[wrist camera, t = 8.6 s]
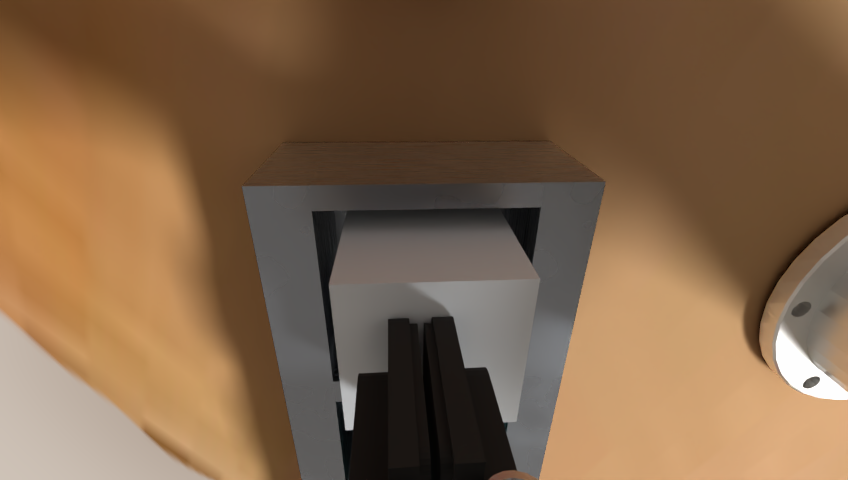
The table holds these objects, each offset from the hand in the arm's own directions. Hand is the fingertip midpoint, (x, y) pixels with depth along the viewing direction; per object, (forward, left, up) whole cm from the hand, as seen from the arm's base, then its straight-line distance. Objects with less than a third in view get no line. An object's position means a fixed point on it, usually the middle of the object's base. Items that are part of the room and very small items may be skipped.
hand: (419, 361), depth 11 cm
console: (0, +8, -7) cm, 10 cm away
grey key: (0, 0, -5) cm, 5 cm away
